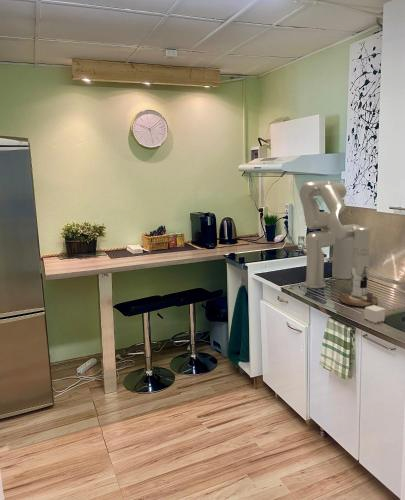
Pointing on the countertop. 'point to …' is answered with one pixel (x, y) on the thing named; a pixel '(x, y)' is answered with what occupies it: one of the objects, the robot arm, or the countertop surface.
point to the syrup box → (357, 284)
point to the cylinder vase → (342, 259)
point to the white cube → (374, 313)
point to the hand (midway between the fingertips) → (358, 285)
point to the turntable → (358, 299)
